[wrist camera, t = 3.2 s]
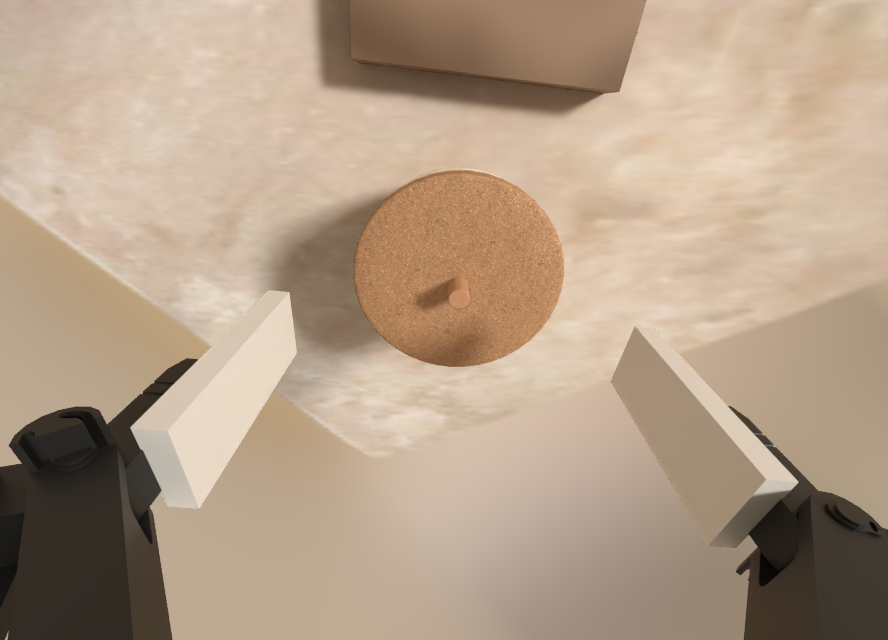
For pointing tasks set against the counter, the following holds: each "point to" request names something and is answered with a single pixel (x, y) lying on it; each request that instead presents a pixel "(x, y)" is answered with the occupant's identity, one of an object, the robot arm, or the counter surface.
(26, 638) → the robot arm
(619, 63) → the walnut board
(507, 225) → the lidded jar
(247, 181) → the counter surface
